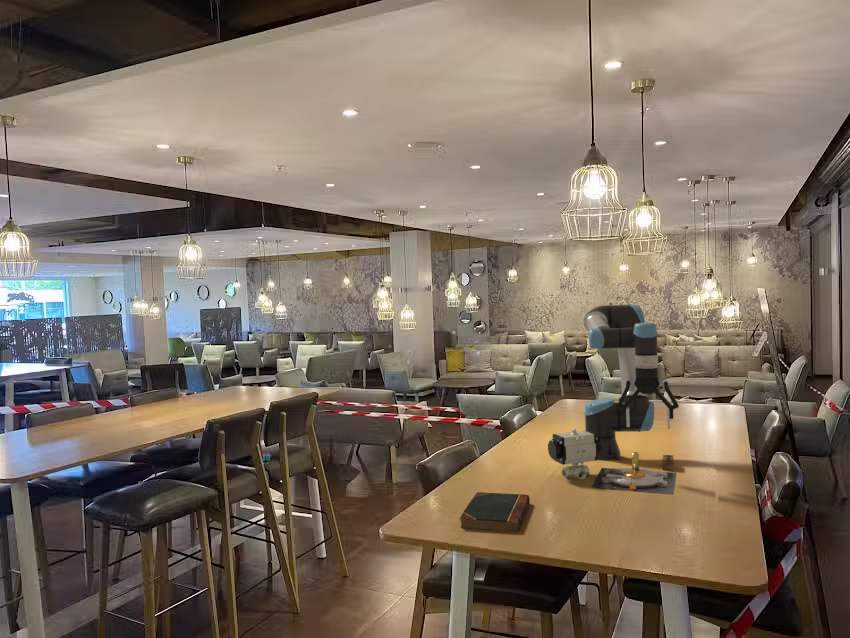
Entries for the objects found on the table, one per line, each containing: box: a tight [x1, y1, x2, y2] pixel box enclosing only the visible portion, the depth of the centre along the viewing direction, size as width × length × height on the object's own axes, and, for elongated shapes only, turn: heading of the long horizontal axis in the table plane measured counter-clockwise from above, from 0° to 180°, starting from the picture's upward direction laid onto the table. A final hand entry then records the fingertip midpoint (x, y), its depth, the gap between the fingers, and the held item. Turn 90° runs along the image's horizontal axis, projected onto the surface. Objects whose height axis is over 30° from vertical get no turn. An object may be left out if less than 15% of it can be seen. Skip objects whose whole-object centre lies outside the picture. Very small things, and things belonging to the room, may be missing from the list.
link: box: [661, 454, 675, 472], centre depth 236 cm, size 4×7×5 cm, turn 156°
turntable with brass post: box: [602, 451, 667, 490], centre depth 222 cm, size 21×23×8 cm
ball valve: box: [547, 428, 602, 480], centre depth 230 cm, size 18×8×18 cm, turn 105°
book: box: [459, 491, 531, 533], centre depth 196 cm, size 17×4×25 cm
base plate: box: [590, 467, 677, 496], centre depth 222 cm, size 26×26×1 cm
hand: (648, 427), depth 225 cm, fingers open, 13 cm apart
